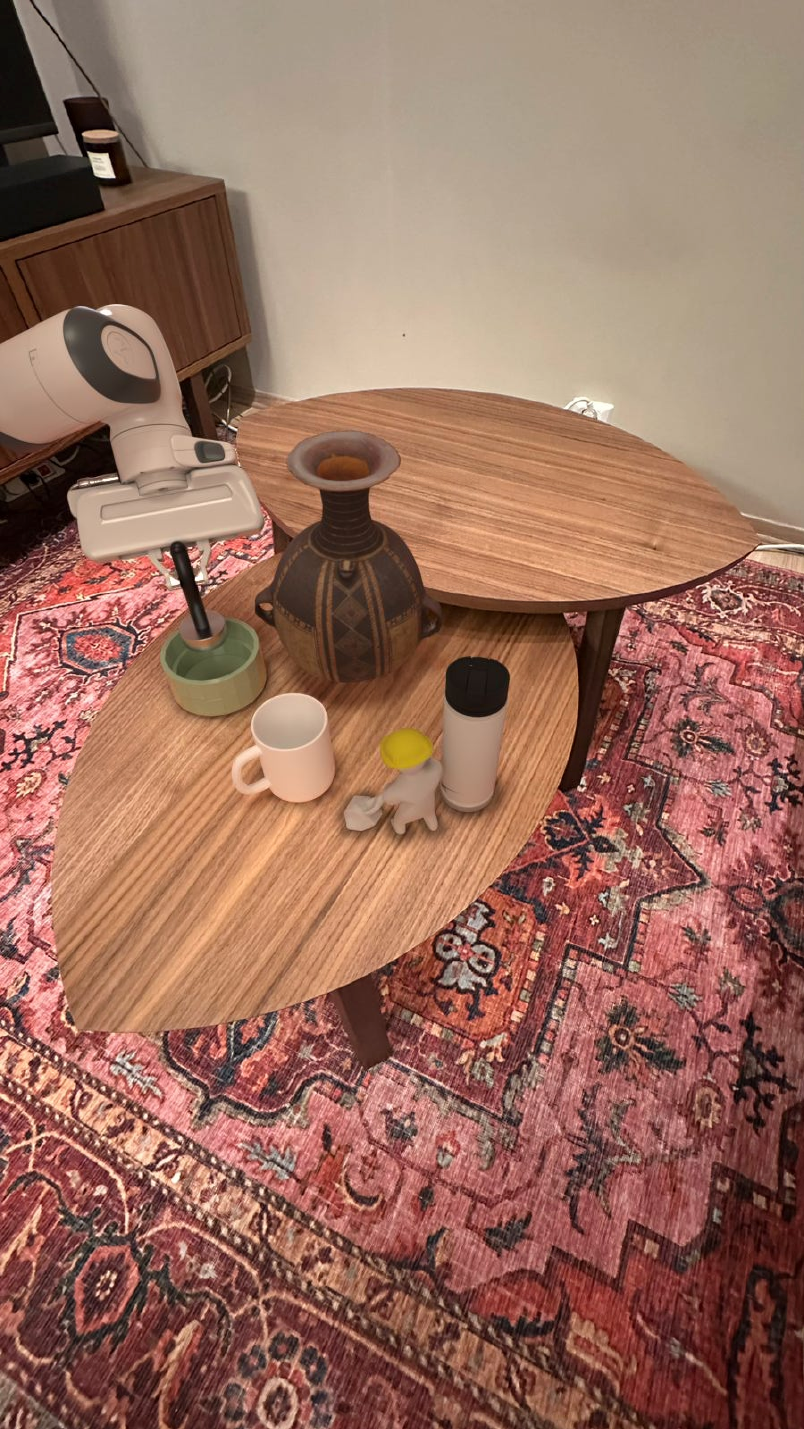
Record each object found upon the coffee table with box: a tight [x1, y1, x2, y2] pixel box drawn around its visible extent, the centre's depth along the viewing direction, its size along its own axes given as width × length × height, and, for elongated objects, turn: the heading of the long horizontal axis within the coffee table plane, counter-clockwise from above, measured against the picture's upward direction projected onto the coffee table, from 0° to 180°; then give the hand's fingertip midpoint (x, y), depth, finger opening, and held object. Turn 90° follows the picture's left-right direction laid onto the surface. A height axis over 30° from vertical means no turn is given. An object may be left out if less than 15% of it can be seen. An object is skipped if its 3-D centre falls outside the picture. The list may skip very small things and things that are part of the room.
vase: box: [254, 429, 443, 684], centre depth 83 cm, size 23×19×30 cm
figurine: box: [343, 727, 443, 835], centre depth 72 cm, size 10×9×15 cm
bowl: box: [159, 616, 268, 717], centre depth 89 cm, size 12×12×6 cm
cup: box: [231, 692, 336, 803], centre depth 77 cm, size 8×12×10 cm
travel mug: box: [439, 655, 511, 813], centre depth 72 cm, size 6×7×20 cm
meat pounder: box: [169, 541, 228, 652], centre depth 80 cm, size 6×6×14 cm
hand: (189, 586), depth 79 cm, fingers closed on meat pounder
